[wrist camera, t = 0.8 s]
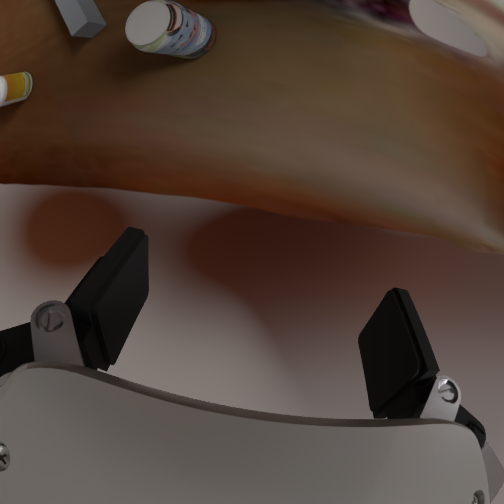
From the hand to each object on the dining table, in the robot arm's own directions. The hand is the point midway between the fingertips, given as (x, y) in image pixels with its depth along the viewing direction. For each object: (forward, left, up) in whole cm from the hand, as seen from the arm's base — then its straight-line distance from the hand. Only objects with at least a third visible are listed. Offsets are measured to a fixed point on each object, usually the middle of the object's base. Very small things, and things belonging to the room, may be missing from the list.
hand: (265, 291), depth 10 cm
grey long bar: (+14, -40, -29) cm, 51 cm away
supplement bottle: (+31, -32, -29) cm, 53 cm away
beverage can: (+3, -18, -29) cm, 34 cm away
